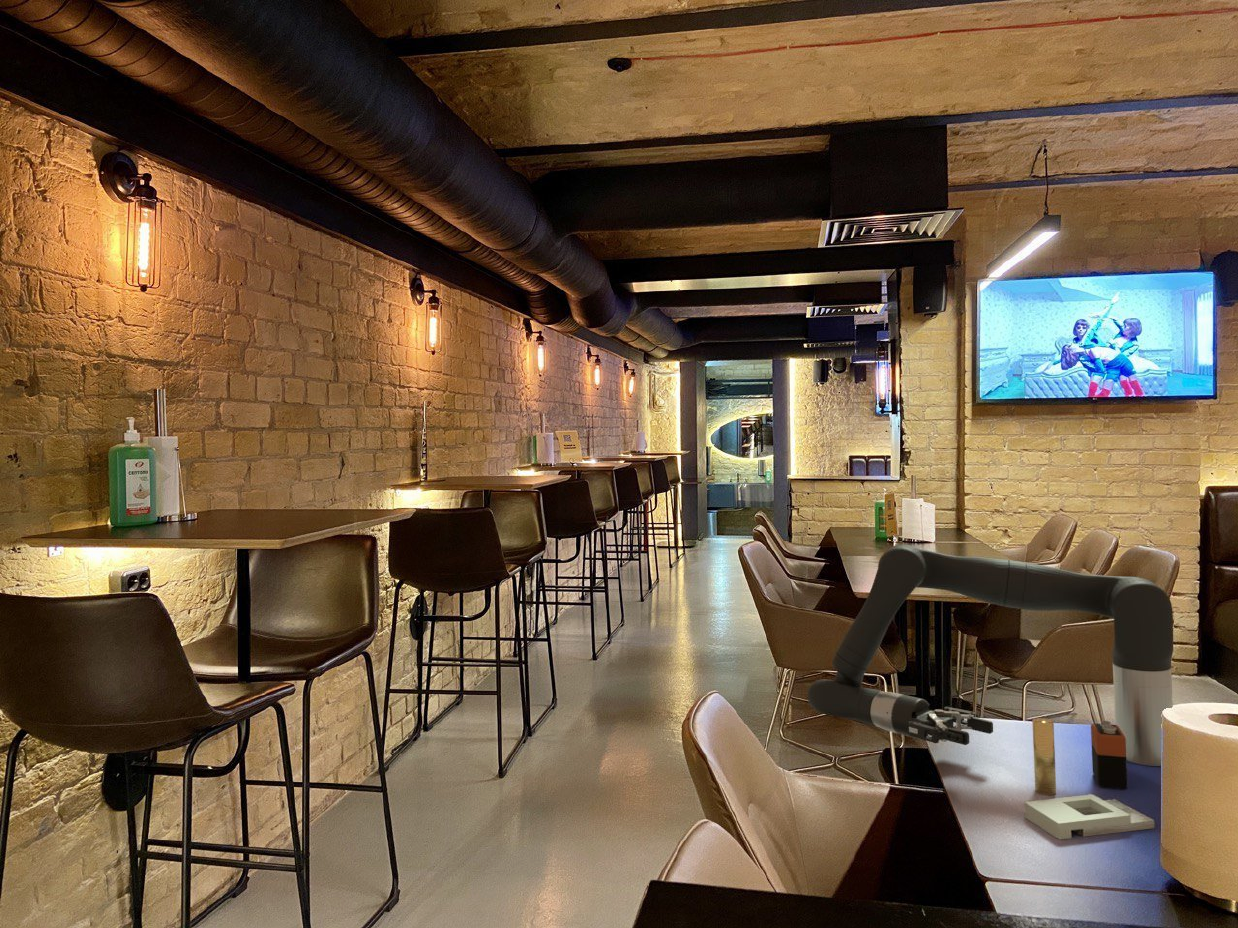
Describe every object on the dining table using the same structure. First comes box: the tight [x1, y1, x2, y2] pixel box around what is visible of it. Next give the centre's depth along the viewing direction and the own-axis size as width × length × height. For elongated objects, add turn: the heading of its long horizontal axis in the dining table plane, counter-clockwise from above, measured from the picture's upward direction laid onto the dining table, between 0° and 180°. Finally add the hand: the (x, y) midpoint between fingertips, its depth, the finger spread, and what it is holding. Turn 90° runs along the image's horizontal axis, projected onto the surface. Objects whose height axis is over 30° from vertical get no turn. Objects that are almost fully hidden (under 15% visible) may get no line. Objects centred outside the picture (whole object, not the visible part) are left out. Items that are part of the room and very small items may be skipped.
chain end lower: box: [1073, 798, 1155, 837], centre depth 128 cm, size 12×8×1 cm, turn 99°
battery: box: [1090, 720, 1128, 790], centre depth 142 cm, size 4×7×10 cm, turn 158°
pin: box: [1031, 717, 1057, 796], centre depth 139 cm, size 3×3×12 cm
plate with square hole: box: [1023, 793, 1131, 840], centre depth 127 cm, size 12×8×2 cm, turn 99°
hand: (980, 733), depth 148 cm, fingers open, 8 cm apart
